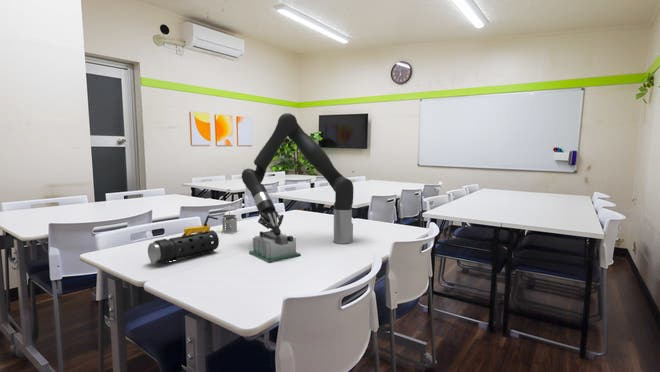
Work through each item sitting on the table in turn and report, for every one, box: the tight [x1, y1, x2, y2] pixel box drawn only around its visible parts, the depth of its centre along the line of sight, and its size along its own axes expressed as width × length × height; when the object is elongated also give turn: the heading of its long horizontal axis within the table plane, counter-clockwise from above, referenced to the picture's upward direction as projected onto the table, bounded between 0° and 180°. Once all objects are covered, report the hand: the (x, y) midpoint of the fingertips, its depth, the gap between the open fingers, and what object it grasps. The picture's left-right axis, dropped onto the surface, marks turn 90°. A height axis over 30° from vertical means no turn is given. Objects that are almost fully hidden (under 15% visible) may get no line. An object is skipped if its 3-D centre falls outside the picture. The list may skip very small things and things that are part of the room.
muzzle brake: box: [147, 229, 220, 265], centre depth 153 cm, size 10×28×10 cm, turn 141°
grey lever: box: [262, 230, 288, 245], centre depth 159 cm, size 4×16×3 cm, turn 40°
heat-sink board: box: [248, 229, 302, 264], centre depth 159 cm, size 16×18×10 cm
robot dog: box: [181, 215, 219, 236], centre depth 179 cm, size 6×18×13 cm, turn 127°
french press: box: [219, 188, 239, 235], centre depth 201 cm, size 10×12×25 cm
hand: (278, 234), depth 156 cm, fingers closed
